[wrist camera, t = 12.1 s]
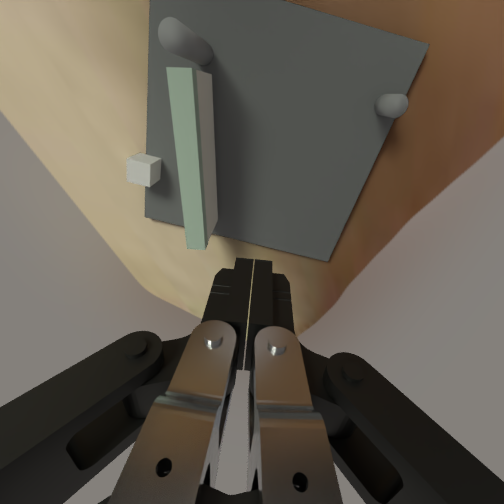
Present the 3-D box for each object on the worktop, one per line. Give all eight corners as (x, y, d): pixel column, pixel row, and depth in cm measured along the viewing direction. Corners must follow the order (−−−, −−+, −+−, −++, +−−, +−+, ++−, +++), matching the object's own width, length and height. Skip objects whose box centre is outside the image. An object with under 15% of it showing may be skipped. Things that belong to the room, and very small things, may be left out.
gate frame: (142, 212, 34) (100, 249, 26) (147, -37, 22) (71, -115, 14) (326, 257, 35) (341, 306, 27) (423, 46, 23) (503, 20, 15)
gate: (193, 74, 24) (166, 67, 18) (212, 74, 24) (191, 67, 18) (204, 219, 32) (187, 248, 26) (218, 219, 32) (205, 249, 26)
